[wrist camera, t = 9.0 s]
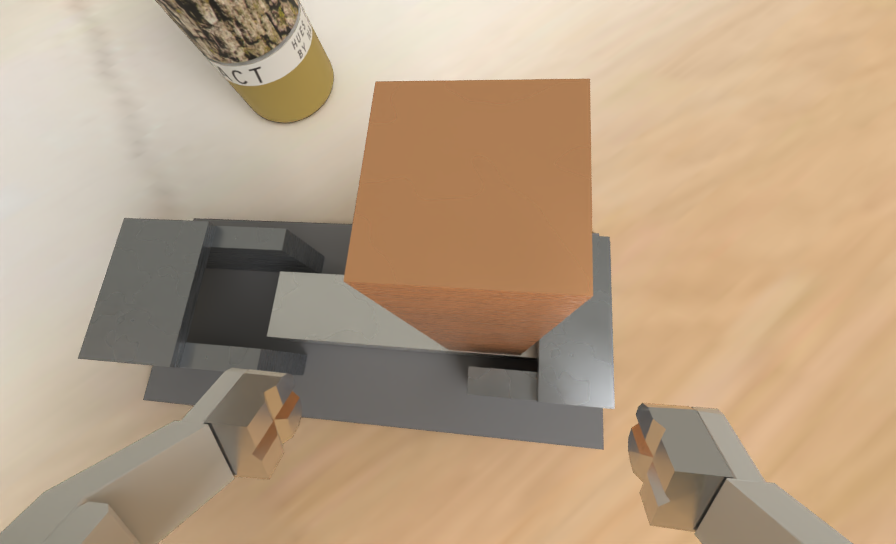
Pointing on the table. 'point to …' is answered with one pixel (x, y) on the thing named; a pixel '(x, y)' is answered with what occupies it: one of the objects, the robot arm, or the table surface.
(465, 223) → the brown piece
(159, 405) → the table surface
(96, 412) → the table surface
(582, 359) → the socket
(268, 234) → the grey u-shaped block
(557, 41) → the table surface
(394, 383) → the grey rectangular plate
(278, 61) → the paper tube
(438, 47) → the table surface
